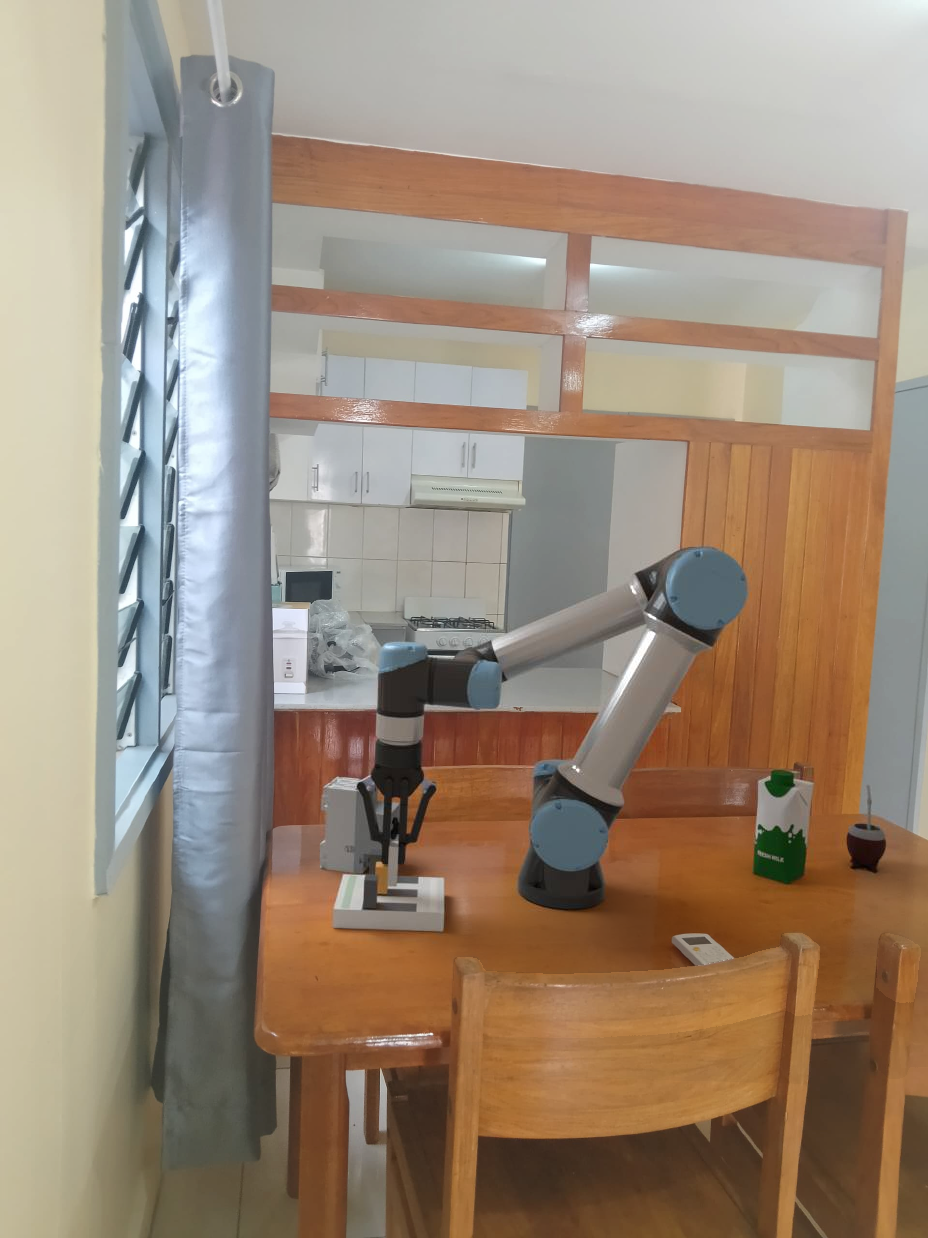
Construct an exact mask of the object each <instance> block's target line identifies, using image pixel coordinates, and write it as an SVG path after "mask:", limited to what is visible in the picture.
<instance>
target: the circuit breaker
mask: <svg viewBox="0 0 928 1238" xmlns="http://www.w3.org/2000/svg"><path fill="white" fill-rule="evenodd" d="M359 779H360V778H353V777H344V776H343V777H339V776H336V777H335V778H334V779H332V780H331V781H330V782H328V783H327V784H326V785H324V786H323V788H322V790H323V792H322V795H321V798H320V799H321V802H320V803H321V804H320V806H321V808H320V810H321V811H322V812H323V811H324V812H325V829H324V830H325V831H324V835H325V836H324V839H323V841H321V842H320V843H319V870H320V869H321V870H322V869H325V870H327V871H337V872H345V873H352V874H358V875H363V874H364V872H365V871H366V870H367V869H369V861H370V851H371V849H372V850H382V845H381V843H380V842H377V841H372V839H371V836H370V831H369V826H368V821H367V816H366V811H365V806H364V801H363V797H362V795H361V794H360V792H359V790H358V789H357V783H358V781H359ZM372 785H373V787H372V790H371V793H372V797H373V802H374V807H375V812H376V817H377V822H378V827H379V831H380V832H382V833H383V813H384V800H378V793H379V789H378V788H377V786H376V785H375V783H374V782H372ZM399 817H400V802H393V801H392V817H391V837H390V841H398V839H399Z"/></svg>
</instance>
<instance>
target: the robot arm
mask: <svg viewBox="0 0 928 1238" xmlns="http://www.w3.org/2000/svg"><path fill="white" fill-rule="evenodd" d="M748 584H749V583H748V580H747V576H746V573H745V571H744V569H743V567H742V566H741V565H740V563H739V562H738V561H737V560H736V559H735V558H734V557H732V556H731V555H730V554H728V553H726V552H725V551H724V550H720V549H718V548H716V547H713V546H689V547H687V546H686V547H683V548H680V549H678V550H676V551H674V552H672V553H671V554H669V555H667V556H665V557H664V558H662V559H660V560H659V561H657V562H655V563H653V564H651V565H649V566H647V567H645V568H643V569H640V570H638V571H637V572H634V573H631V576H630V577H629V581H628V582H626V583H624V584H620V585H619V586H616V587H614V588H612V589H609V590H607V591H604V592H601V593H599V594H597V595H595V596H592V597H590V598H587V599H585V600H583V601H580V602H577V603H576V604H574V605H571V606H568V607H566V608H564V609H562V610H559V611H556V612H555V613H552V614H549V615H546V616H545V617H542V618H540V619H538V620H535V621H532V622H531V623H528V624H525V625H523V626H521V627H518V628H516V629H514V630H511V631H508V632H506V633H504V634H502V635H499V636H496V637H495V638H494V637H493V638H492V639H491V640H489V641H485V642H482V643H480V644H478V645H475V646H468V647H466V648H464V649H461V650H460V651H458V653H456V654H455V656H454V657H453V658H442V657H441V658H440V657H439V658H438V657H433V656H429V653H428V648H427V647H428V646H427V645H425V644H423V643H419V642H412V641H390V642H387V643H385V644H383V646H381V648H380V653H379V655H380V656H379V662H378V663H379V665H378V670H377V701H376V704H377V706H376V714H375V715H376V718H375V720H376V721H375V737H376V738H378V739H376V741H375V743H374V763H373V765H374V766H373V768H372V769H371V771H370V775H368V776H366V777H365V778H358V779H359V781H358V783H357V789H358V790H359V792H360V794H361V795H362V797H363V801H364V806H365V811H366V816H367V821H368V826H369V831H370V836H371V839H372V841H377V842H380V843H381V845H382V858H381V861H382V864H388V880H387V886H395V887H396V886H397V876H399V875H398V873H399V872H398V871H399V870H398V869H399V866H400V865H401V866H404V865H405V864H406V863H405V862H406V856H407V855H406V853H407V845H408V844H415V843H417V841H418V839H419V835H420V832H421V829H422V826H423V822H424V819H425V816H426V812H427V809H428V806H429V803H430V800H431V799H432V797H433V796H434V794H436V793H437V783H436V782H435V781H431V780H429V779H428V778H426V777H425V773H424V771H423V769H422V763H423V746H424V745H423V742H422V741H421V740H422V739H423V737H424V727H425V726H424V725H425V724H424V723H425V706H439V707H440V706H441V707H450V708H461V709H462V708H463V709H473V710H477V711H479V710H495V709H497V708H498V707H499V705H501V704H500V703H501V696H502V685H503V683H505V682H507V681H509V680H512V679H515V678H516V677H519V676H521V675H524V674H527V673H528V672H532V671H534V670H537V669H539V668H541V667H543V666H546V665H548V664H551V663H553V662H556V661H558V660H561V659H564V658H565V657H568V656H571V655H573V654H575V653H578V652H580V651H583V650H585V649H588V648H590V647H594V646H595V645H597V644H601V643H603V642H605V641H608V640H610V639H613V638H615V637H618V636H620V635H623V634H625V633H627V632H629V631H633V630H635V629H637V628H640V627H642V626H645V629H644V631H643V633H642V634H641V636H640V638H639V639H638V641H637V643H636V644H635V647H634V648H633V650H632V652H631V654H630V656H629V657H628V659H627V661H626V663H625V665H624V666H623V668H622V670H621V672H620V674H619V675H618V677H617V679H616V681H615V683H614V685H613V686H612V688H611V690H610V692H609V693H608V696H607V697H606V699H605V701H604V702H603V705H602V706H601V708H600V710H599V712H598V714H597V715H596V717H595V718H594V721H593V723H592V724H591V726H590V728H589V729H588V732H587V733H586V735H585V737H584V739H583V740H582V741H581V745H580V746H579V748H578V750H577V751H576V753H575V755H574V756H573V758H572V760H571V759H570V760H569V759H543V760H540V761H537V762H536V763H535V765H534V769H533V774H532V798H531V799H532V800H531V802H532V803H531V815H530V816H531V817H530V824H529V825H528V826H529V827H528V832H529V837H530V838H529V847H528V849H527V852H526V855H525V857H524V860H523V862H522V864H521V867H520V870H519V872H518V875H517V887H516V888H517V892H518V894H520V896H522V897H523V898H524V899H526V900H528V901H530V902H532V903H535V904H536V905H540V906H543V907H549V908H554V909H561V910H577V909H578V910H579V909H587V908H591V907H594V906H597V905H598V904H600V903H602V902H603V901H604V900H605V897H606V895H605V894H606V881H605V876H604V873H603V869H602V865H601V861H600V859H601V858H602V856H603V855H604V854H605V853H606V852H605V851H606V850H607V847H608V843H609V838H610V833H609V832H610V829H611V828H612V826H613V824H614V823H615V821H616V819H617V818H618V816H619V814H620V812H621V810H622V808H623V807H624V804H625V799H624V795H623V791H622V789H623V786H624V784H625V782H626V780H627V779H628V777H629V776H630V774H631V772H632V770H633V768H634V767H635V765H636V763H637V761H638V759H639V758H640V756H641V754H642V752H643V751H644V748H645V747H646V745H647V743H648V742H649V740H650V738H651V736H652V735H653V733H654V730H656V728H657V726H658V724H659V722H660V720H661V719H662V716H663V715H664V713H666V712H665V711H666V710H667V708H668V707H669V705H670V703H671V701H672V700H673V697H674V696H675V694H676V693H677V690H678V689H679V687H680V685H681V683H682V681H683V680H684V678H685V676H686V674H687V673H688V670H689V669H690V667H691V666H692V663H693V662H694V660H695V658H696V657H697V655H699V654H700V653H703V652H707V651H710V650H712V649H713V647H714V646H715V644H716V642H717V641H718V639H719V637H720V635H721V634H722V632H723V630H724V629H725V627H726V626H727V625H729V624H730V623H732V622H733V621H734V620H735V619H736V618H737V617H738V616H739V615H740V614H741V612H742V611H743V609H744V607H745V605H746V602H747V598H748V592H749V591H748V590H749V586H748ZM372 782H374V783H375V785H376V786H377V788H378V792H380V793H381V795H382V796H383V801H384V813H383V833H382V832H380V831H379V827H378V822H377V817H376V812H375V807H374V802H373V797H372V793H371V790H372V787H373V785H372ZM419 786H421V788H420V792H421V796H420V797H421V798H420V801H419V803H418V807H417V811H416V813H415V817H414V820H413V823H412V827H411V830H410V832H408V833H407V831H408V811H409V810H408V809H409V798H410V797H411V796H412V795H413V794H414V792H415V791H416V790H417V789H418V788H419ZM393 798H399V803H400V817H399V839H398V841H390V837H391V817H392V802H393Z"/></svg>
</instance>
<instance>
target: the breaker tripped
mask: <svg viewBox="0 0 928 1238" xmlns="http://www.w3.org/2000/svg"><path fill="white" fill-rule="evenodd" d="M375 875H378V894H387V891H388V886H387V880H388V864H382V862H376V867H375Z"/></svg>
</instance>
